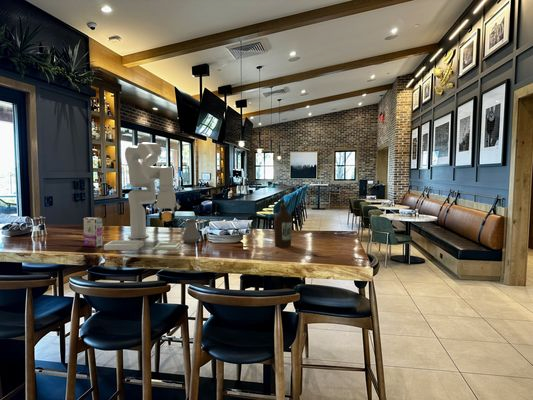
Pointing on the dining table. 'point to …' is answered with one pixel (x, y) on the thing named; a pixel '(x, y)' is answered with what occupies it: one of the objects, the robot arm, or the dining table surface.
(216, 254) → the dining table surface
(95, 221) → the candy bar box
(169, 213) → the ball
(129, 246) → the shallow white tray
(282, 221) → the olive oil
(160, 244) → the tray
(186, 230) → the coffee pot
